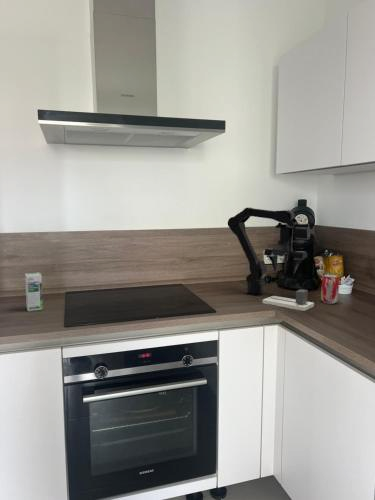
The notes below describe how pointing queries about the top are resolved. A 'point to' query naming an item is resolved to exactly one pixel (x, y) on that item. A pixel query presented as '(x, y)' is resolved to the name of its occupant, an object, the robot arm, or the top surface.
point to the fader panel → (287, 303)
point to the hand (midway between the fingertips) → (284, 272)
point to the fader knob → (301, 296)
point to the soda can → (330, 289)
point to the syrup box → (34, 291)
